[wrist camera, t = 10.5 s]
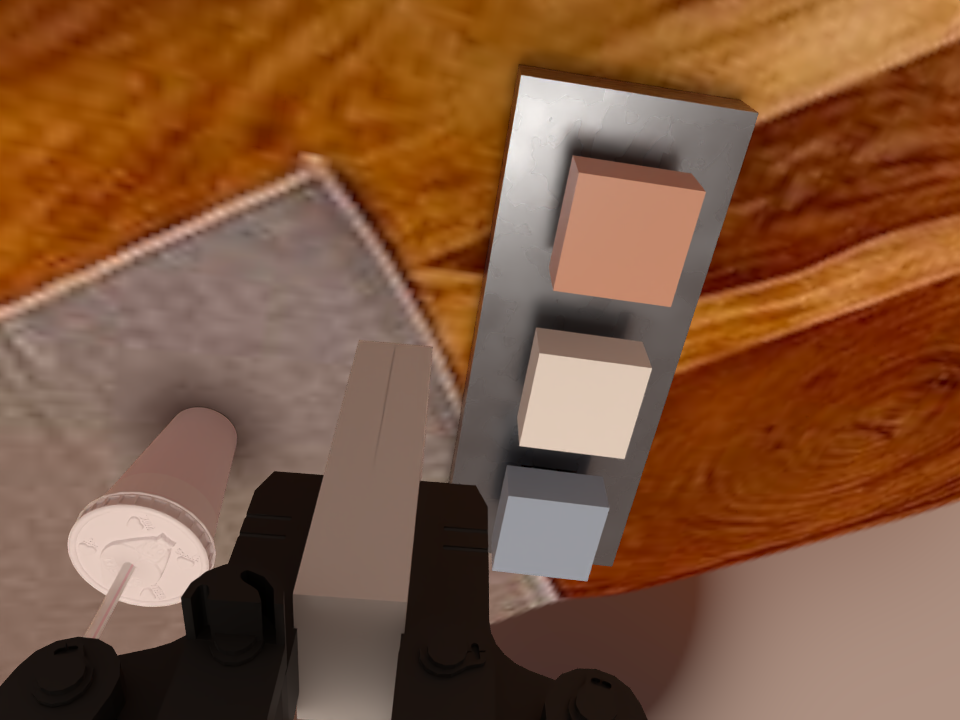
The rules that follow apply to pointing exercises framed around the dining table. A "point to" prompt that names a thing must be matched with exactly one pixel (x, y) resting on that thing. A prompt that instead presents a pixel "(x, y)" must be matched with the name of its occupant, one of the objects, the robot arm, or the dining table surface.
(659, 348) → the console
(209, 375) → the dining table surface
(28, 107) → the dining table surface
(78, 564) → the smoothie
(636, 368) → the white key
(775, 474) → the dining table surface
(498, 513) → the blue key
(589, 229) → the terracotta key
